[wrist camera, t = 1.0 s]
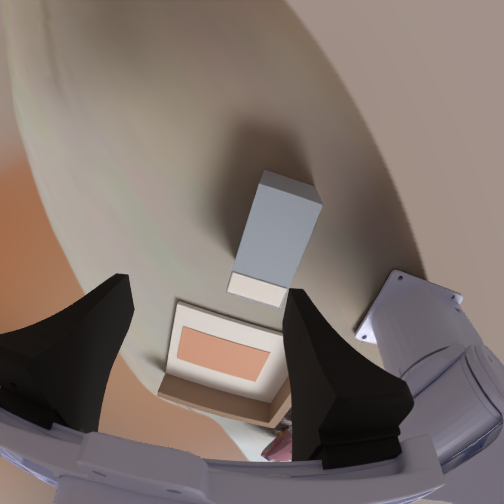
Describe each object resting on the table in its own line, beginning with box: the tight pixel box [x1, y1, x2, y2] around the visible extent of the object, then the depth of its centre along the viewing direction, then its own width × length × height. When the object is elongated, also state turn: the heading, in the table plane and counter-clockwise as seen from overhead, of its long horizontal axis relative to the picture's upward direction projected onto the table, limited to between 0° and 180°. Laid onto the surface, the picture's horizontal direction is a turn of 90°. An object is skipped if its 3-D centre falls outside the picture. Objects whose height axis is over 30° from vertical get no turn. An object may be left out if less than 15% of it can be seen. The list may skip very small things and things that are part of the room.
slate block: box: [226, 170, 323, 309], centre depth 21 cm, size 4×8×5 cm, turn 164°
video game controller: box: [261, 425, 292, 462], centre depth 33 cm, size 10×5×7 cm, turn 151°
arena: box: [157, 301, 291, 428], centre depth 29 cm, size 14×12×4 cm
